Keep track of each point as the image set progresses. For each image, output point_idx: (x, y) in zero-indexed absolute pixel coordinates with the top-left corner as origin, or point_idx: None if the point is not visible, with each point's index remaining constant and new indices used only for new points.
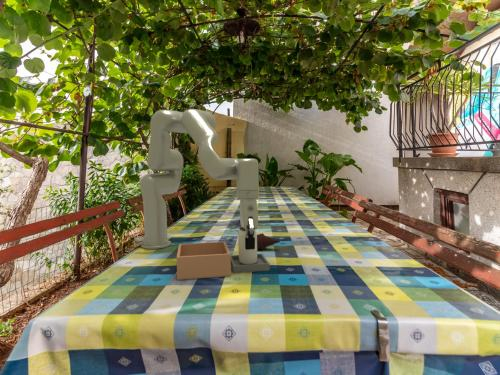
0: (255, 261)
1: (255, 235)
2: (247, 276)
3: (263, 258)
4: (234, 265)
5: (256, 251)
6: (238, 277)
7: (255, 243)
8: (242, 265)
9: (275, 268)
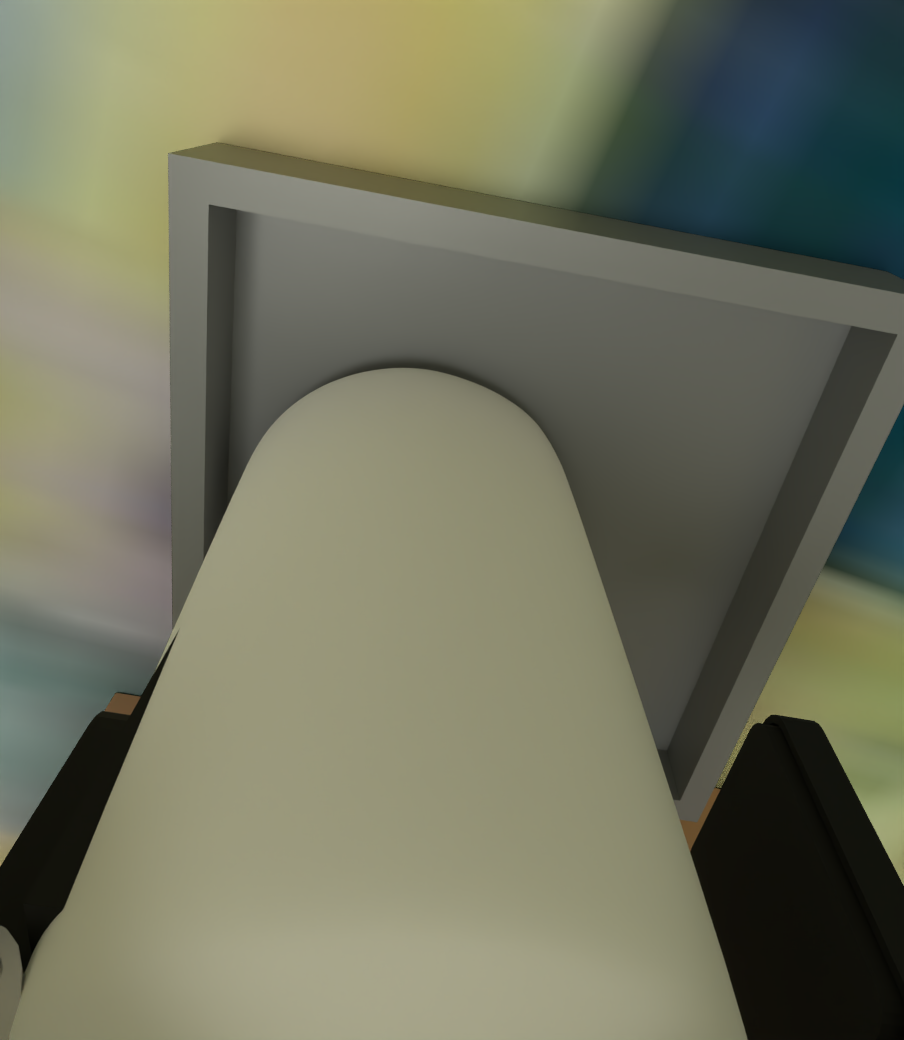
0: (550, 445)
1: (693, 938)
2: (890, 654)
3: (510, 258)
4: (677, 808)
5: (547, 509)
6: (849, 744)
7: (627, 692)
8: (741, 730)
9: (855, 105)
